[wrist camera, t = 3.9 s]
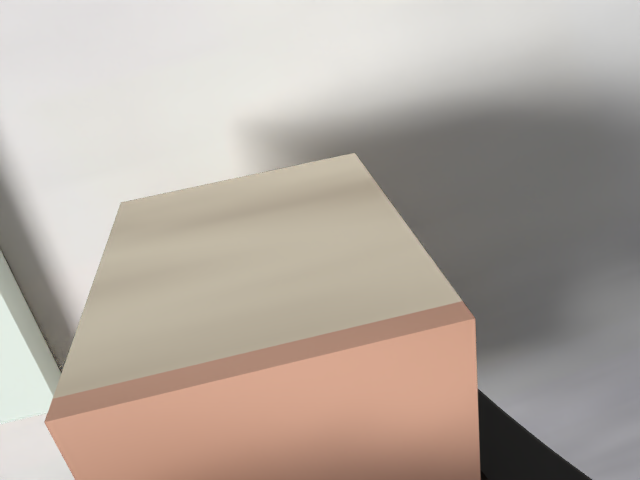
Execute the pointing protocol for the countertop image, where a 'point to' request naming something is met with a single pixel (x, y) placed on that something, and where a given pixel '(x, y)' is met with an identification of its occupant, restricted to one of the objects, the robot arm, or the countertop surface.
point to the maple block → (270, 340)
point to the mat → (22, 356)
